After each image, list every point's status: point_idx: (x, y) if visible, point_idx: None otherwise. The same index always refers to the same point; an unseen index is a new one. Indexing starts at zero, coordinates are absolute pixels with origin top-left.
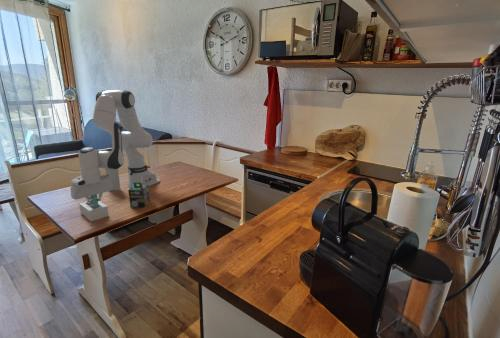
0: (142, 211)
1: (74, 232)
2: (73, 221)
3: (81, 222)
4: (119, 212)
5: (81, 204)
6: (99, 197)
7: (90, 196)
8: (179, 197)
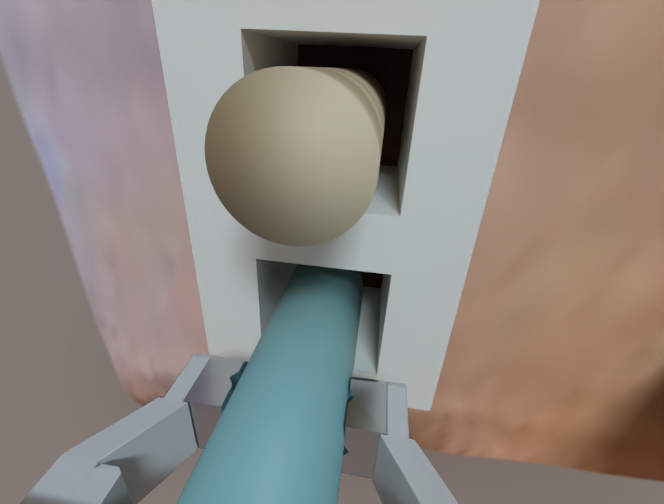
0: (648, 461)
1: (122, 342)
2: (134, 167)
3: (190, 246)
4: (529, 336)
5: (174, 54)
6: (379, 481)
7: (308, 180)
8: None
